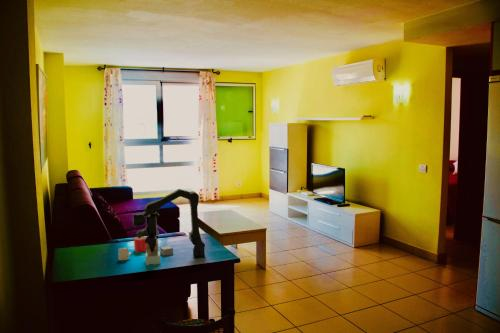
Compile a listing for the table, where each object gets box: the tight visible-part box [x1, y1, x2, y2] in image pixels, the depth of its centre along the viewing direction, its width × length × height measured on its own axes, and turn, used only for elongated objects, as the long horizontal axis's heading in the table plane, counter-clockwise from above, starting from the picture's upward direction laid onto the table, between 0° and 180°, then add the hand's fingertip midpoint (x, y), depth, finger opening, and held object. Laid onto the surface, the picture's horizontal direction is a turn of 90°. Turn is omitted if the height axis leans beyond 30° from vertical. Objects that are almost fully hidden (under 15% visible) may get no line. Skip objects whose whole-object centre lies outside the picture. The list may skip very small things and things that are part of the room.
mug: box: [133, 236, 147, 253], centre depth 250 cm, size 8×12×8 cm, turn 107°
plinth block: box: [145, 250, 161, 266], centre depth 227 cm, size 8×8×5 cm
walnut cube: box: [146, 239, 159, 254], centre depth 226 cm, size 6×6×6 cm
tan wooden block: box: [160, 245, 174, 257], centre depth 242 cm, size 6×6×4 cm
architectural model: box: [118, 247, 132, 261], centre depth 233 cm, size 3×7×7 cm, turn 104°
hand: (152, 250), depth 226 cm, fingers closed on walnut cube, 6 cm apart
